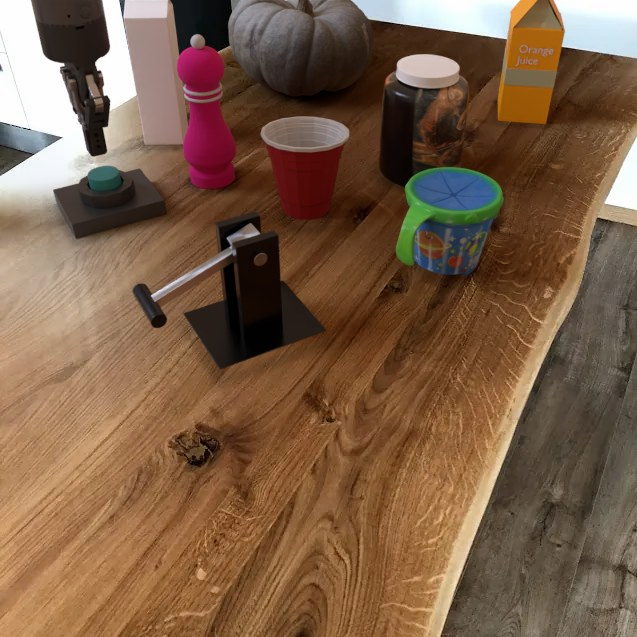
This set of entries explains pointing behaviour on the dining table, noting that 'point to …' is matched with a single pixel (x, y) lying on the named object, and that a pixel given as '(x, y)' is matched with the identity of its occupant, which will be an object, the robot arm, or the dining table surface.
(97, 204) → the control block
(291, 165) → the plastic cup
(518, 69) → the orange juice
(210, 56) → the pepper mill
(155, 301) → the lever
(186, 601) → the dining table surface
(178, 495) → the dining table surface
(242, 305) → the bracket
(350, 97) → the dining table surface
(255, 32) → the gourd
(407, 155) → the jar
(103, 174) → the button
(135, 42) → the milk
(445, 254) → the snack cup
